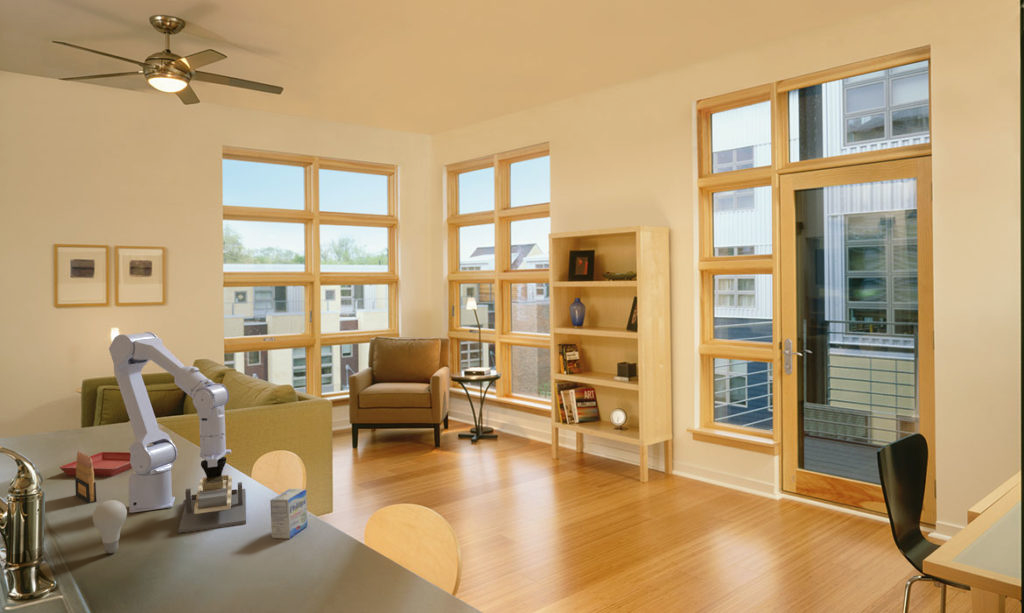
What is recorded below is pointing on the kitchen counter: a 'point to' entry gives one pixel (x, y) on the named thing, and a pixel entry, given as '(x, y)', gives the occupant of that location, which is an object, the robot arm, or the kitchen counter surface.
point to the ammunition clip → (85, 478)
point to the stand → (214, 513)
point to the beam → (214, 497)
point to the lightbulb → (110, 523)
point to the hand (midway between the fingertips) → (214, 488)
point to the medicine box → (288, 513)
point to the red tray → (104, 464)
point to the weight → (212, 483)
